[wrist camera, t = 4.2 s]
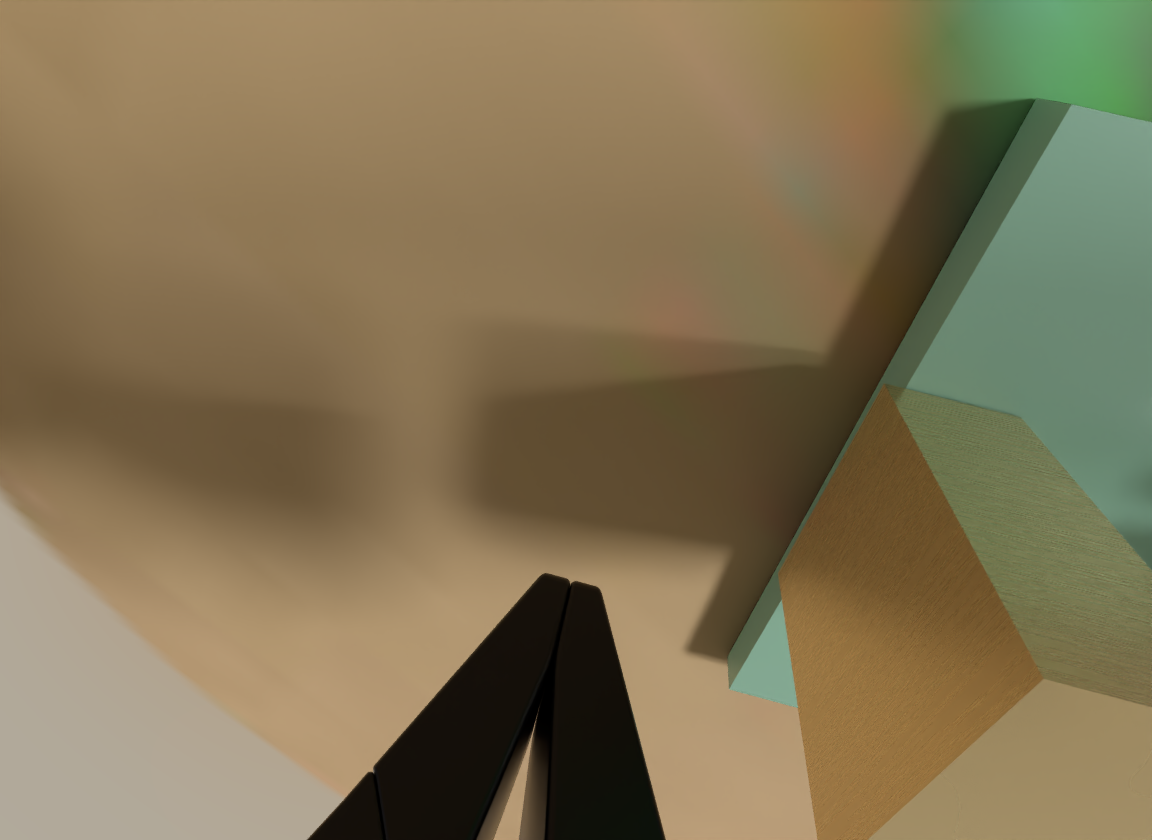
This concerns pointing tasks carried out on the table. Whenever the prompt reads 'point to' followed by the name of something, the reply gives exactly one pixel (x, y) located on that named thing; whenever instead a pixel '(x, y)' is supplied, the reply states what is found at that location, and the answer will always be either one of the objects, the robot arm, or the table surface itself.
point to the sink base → (1033, 332)
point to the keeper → (968, 639)
